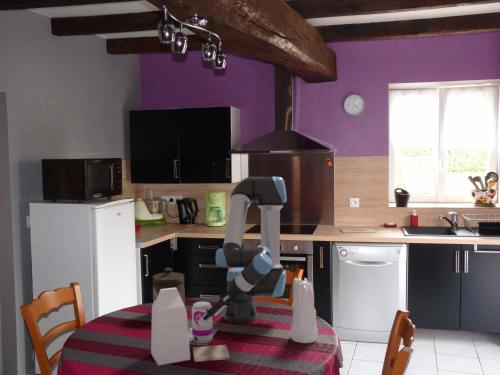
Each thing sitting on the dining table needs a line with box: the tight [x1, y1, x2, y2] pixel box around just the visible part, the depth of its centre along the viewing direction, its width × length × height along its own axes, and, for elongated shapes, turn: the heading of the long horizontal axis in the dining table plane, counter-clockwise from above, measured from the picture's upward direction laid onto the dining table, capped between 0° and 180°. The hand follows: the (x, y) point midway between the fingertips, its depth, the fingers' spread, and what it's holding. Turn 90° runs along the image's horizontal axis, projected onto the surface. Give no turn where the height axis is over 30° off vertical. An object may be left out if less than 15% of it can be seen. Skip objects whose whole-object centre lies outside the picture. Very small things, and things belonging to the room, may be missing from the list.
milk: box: [150, 288, 191, 366], centre depth 196 cm, size 12×12×26 cm
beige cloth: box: [192, 344, 231, 363], centre depth 199 cm, size 13×12×1 cm
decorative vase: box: [290, 277, 319, 344], centre depth 213 cm, size 11×11×25 cm
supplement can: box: [191, 301, 214, 344], centre depth 212 cm, size 8×8×15 cm
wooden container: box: [152, 266, 186, 307], centre depth 246 cm, size 15×15×22 cm
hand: (207, 318), depth 211 cm, fingers open, 13 cm apart
